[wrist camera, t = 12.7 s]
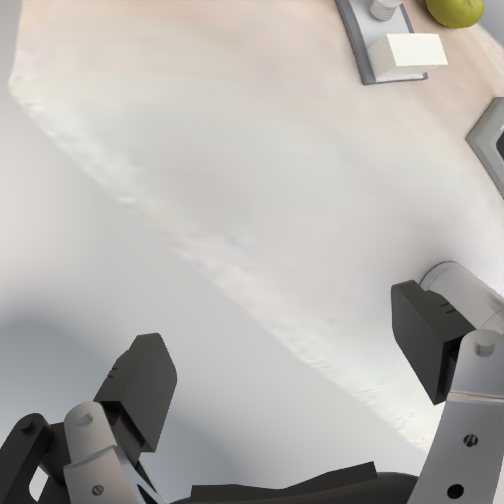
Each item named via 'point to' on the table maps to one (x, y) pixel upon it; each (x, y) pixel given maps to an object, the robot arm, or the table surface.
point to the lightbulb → (384, 8)
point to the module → (406, 54)
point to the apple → (456, 12)
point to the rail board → (373, 36)
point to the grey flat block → (491, 142)
